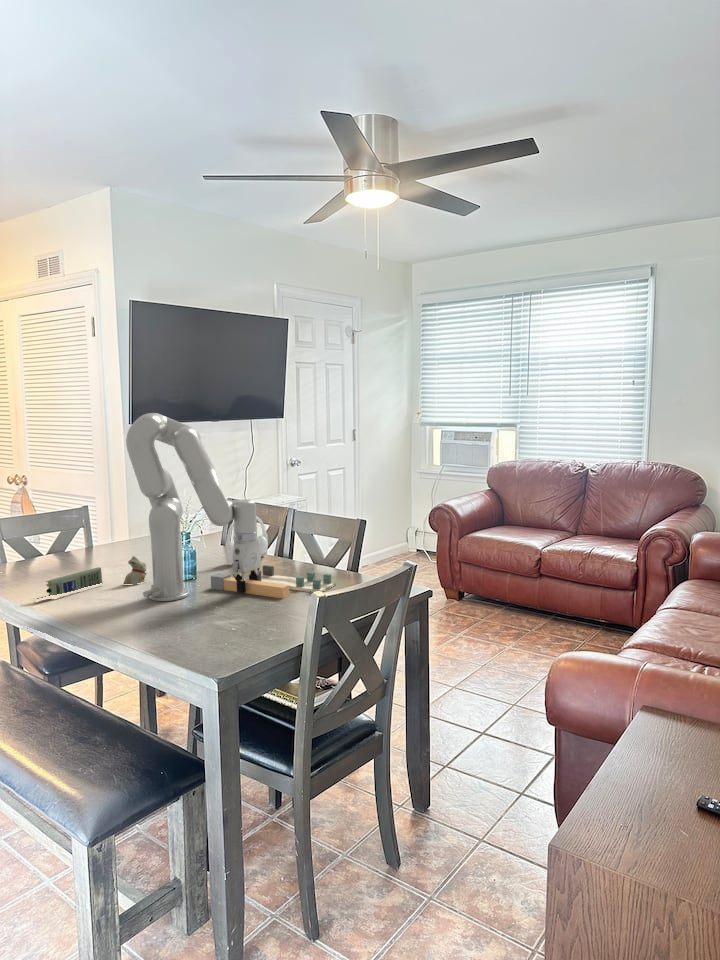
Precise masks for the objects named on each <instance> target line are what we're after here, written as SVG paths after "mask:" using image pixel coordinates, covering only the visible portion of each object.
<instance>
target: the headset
mask: <svg viewBox="0 0 720 960" xmlns="http://www.w3.org/2000/svg"><path fill="white" fill-rule="evenodd" d="M256 520H257V522H259V524H260V527H261V531H262V533H261V535H259V536H258V535H257V539H258V541H259V546H260V553H261V557H262V556H266V555H268V548H269V547H268V546H269V543H268V542H269V541H268V540H269V539H268V537H269V536H268V533H267V530H266V526H265V524H264V521H263V520H262V519H261V518H260V517H259V516H256ZM233 531H234V521H232V523H231V524H230V525H229V528H228V531H227V534H226V539H225V542H224V543H225V546H224V547H225V554H226V564H227V565H228V566H230V565H233V549H234V543H235V542H231V538H232V537H231V536H232V533H233Z"/></svg>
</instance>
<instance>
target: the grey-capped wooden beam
mask: <svg viewBox="0 0 720 960" xmlns="http://www.w3.org/2000/svg"><path fill="white" fill-rule="evenodd" d="M231 575H232V574H231V573H230V574H229V573H222V572H219V573H218V572H217V573H215V574H213V575H210V589H212V590H219V591H227V592H228V591H229V592H236V593H238V592H237V581H236V580H235V578H234V576H233V577H232V576H231ZM244 581H245V585H246V592H245V593H244V594H250V595H256V596H263V597H269V598H270V597H271V598H277V599H285V598H287V597H290V589H289V585H285V584H278V583H270V582H263V581H255V580H249V578H244Z"/></svg>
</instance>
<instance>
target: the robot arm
mask: <svg viewBox="0 0 720 960" xmlns="http://www.w3.org/2000/svg"><path fill="white" fill-rule="evenodd" d="M130 425H131V426H130V427H129V428H128V430H127V433H126V438H125V442H126V443H125V444H126V450H127V454H128V457H129V460H130V462H131V465H132V469H133V472H134V474H135V475H134V476H135V477H136V480H137V483H138V487H139V490H140V492H141V493H142V494H143V496H145V497H146V498H148V500H149V503H150V506H151V509H150V511H149V513H148V514H149V515H148V528H149V535H150V549H151V562H152V563H151V564H152V580H153V581H152V582H153V584H152V585H151V586H150V587H151V588H150V589H148V590H146V591H145V590H144V591H143V593H142V596H143V597H144V598H149V599H150V600H152V601H156V602H171V601H178V600H181V599H184V598H186V597H187V596H189V589H187V588H185V587H184V585H185V584H184V566H183V564H184V563H183V547H182V546H183V545H182V544H183V543H182V533H181V532H182V531H181V519H182V517H183V512H184V511H183V505H182V502H181V500H180V496H179V493H178V490H177V488H176V485H175V483H174V480H173V478H172V475H171V474H170V472H169V471H168V470H167V469H165V468H164V467H163V466H162V463H161V460H160V457H159V454H158V452H157V449H156V448H155V441H158V442H161V443H163V444H166V445H168V446H171V447H174V450H175V452H176V454H177V456H178V458H179V460H180V461H181V464H182V466H183V468H184V469H185V472H186V474H187V476H188V478H189V480H190V483H191V486H192V487H193V489H194V491H195V494H196V495H197V498H198V499H199V502H200V504H201V506H202V508H203V511H204V512H205V515H206V516H207V518H208V520H209V521H210V522H211V524H213V525H215V526H217V527H224V526H227V525H228V524H229V523H230V522H231V521H232V522H234V527H233V538H234V539H233V540H234V542H233V543H234V549H233V564H232V567H233V568H232V569H231V571H230V575H232V576H233V578H235V580H236V581H237V592H236V593H243V594H246V593H245V592H246V585H245V581H244V579H245V576H246V574H247V573H249V574H248V580H255V581H258V576H257V575H258V574H259V573H258V571H260V568H261V566H262V556H261V553H260V546H259V541H258V539H257V537H258V529H257V528H258V526H257V525H258V523H257V522H258V520H257V519H256V517H257V504H256V502H255V500H254V499H244V498H243V499H238V500H236V499H235V500H234V499H226V498H225V495H224V494H223V491H222V489H221V487H220V484H219V482H218V477H217V472H216V469H215V467H214V465H213V463H212V460H211V458H210V457H209V455H208V453H207V450H206V449H205V446H204V444H203V443H202V440H201V435H200V433H199V431H198V430H197V429H196V428H195V427H193V426H191V425H189V424H186V423H183V422H180V421H177V420H175V419H172V418H170V417H168V416H165V415H163V414H160V413H156V412H149V413H145V414H142V415H140V416H139V417H138V418H136V420H135V421H134V422H133V423H132V424H130ZM250 574H251V575H250Z"/></svg>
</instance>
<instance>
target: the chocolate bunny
mask: <svg viewBox="0 0 720 960" xmlns="http://www.w3.org/2000/svg"><path fill="white" fill-rule="evenodd" d="M128 565H130V566H131V569H132V570H131V571H130V572H129V573H128V574H127V573H126V576H125V578H124V581H123V584H137V583H141V582H144V581H145V582H146V580H145V578H146V575H147V573H146V571H147V564H146V563H145V562H143V561H141V560H139V559H138V558H137V557H136V556H135V555H132V557H131V559H130V560H128ZM145 582H144V583H145Z"/></svg>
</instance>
